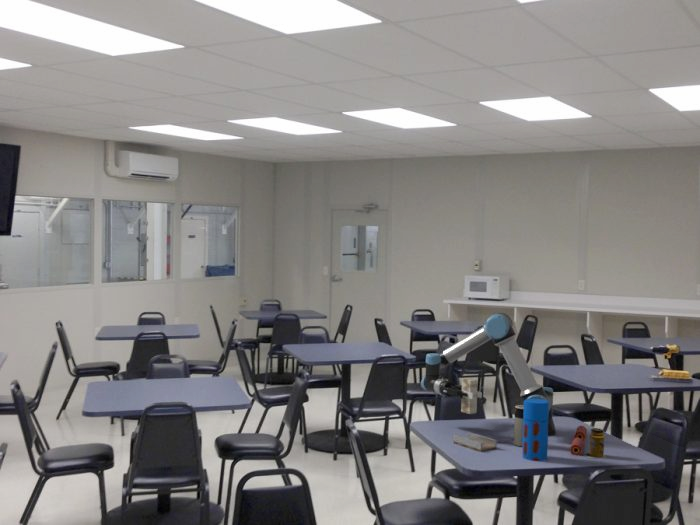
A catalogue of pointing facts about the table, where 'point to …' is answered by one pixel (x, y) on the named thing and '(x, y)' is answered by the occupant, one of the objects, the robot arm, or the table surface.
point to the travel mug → (518, 425)
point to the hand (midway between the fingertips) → (476, 395)
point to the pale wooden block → (467, 403)
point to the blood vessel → (578, 440)
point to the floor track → (476, 442)
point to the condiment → (596, 444)
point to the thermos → (535, 429)
